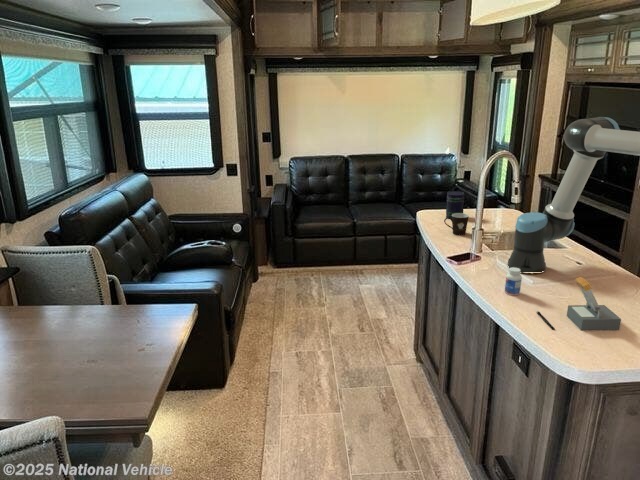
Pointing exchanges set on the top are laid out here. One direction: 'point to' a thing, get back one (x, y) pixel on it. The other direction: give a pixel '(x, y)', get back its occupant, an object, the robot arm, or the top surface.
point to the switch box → (593, 318)
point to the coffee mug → (459, 223)
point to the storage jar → (454, 203)
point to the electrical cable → (545, 321)
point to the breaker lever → (588, 294)
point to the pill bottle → (513, 281)
